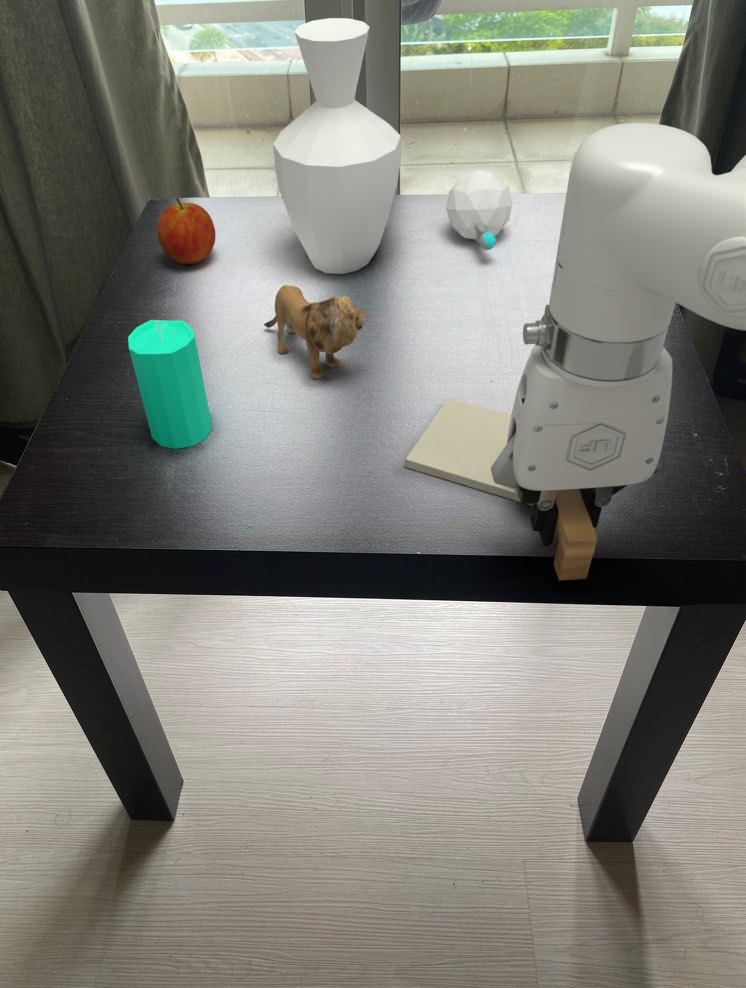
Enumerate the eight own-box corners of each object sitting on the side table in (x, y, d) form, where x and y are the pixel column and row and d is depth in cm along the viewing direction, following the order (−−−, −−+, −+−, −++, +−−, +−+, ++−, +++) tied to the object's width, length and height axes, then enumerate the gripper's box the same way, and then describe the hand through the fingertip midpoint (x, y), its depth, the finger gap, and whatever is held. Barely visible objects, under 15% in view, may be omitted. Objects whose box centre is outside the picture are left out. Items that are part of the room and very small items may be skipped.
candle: (206, 449, 80) (184, 340, 71) (144, 448, 80) (115, 340, 72) (217, 409, 84) (197, 302, 75) (158, 409, 85) (131, 302, 76)
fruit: (225, 247, 107) (216, 185, 101) (211, 275, 102) (201, 211, 96) (172, 245, 108) (160, 183, 102) (156, 273, 103) (142, 210, 97)
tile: (608, 450, 78) (610, 441, 77) (577, 519, 72) (579, 511, 71) (447, 405, 83) (447, 397, 82) (404, 467, 77) (405, 458, 76)
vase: (318, 222, 111) (304, 3, 93) (418, 242, 106) (424, 15, 88) (263, 273, 102) (235, 43, 84) (369, 297, 97) (364, 59, 79)
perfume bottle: (515, 188, 107) (538, 245, 100) (460, 227, 111) (478, 284, 104) (485, 143, 102) (507, 199, 95) (428, 185, 105) (445, 242, 98)
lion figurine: (375, 373, 87) (374, 295, 81) (338, 396, 85) (334, 317, 78) (282, 320, 95) (274, 245, 88) (245, 340, 92) (235, 264, 86)
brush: (605, 578, 65) (616, 538, 62) (540, 583, 65) (549, 542, 62) (561, 456, 75) (569, 415, 72) (505, 459, 75) (511, 419, 72)
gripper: (490, 378, 52) (469, 574, 65) (749, 361, 52) (675, 560, 65) (471, 312, 57) (455, 506, 70) (706, 297, 57) (645, 494, 71)
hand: (561, 531), depth 68 cm, fingers closed on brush
